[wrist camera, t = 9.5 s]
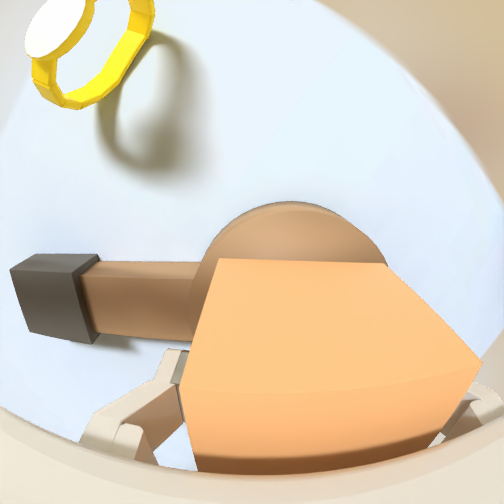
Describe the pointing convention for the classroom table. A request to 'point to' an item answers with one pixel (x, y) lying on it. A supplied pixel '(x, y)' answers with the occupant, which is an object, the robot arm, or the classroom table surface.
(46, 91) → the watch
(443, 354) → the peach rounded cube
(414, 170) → the classroom table surface
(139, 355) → the classroom table surface
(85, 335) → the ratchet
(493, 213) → the classroom table surface
